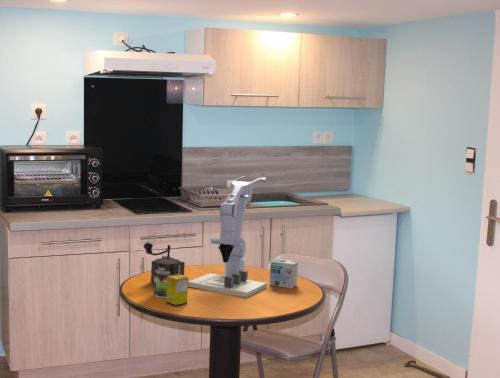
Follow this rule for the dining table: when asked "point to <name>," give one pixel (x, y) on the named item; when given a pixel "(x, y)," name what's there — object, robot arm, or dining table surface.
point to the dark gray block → (236, 278)
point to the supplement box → (177, 290)
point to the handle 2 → (243, 275)
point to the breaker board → (217, 285)
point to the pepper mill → (148, 248)
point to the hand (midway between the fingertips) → (225, 262)
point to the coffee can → (164, 275)
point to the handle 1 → (228, 281)
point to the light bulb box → (283, 273)
